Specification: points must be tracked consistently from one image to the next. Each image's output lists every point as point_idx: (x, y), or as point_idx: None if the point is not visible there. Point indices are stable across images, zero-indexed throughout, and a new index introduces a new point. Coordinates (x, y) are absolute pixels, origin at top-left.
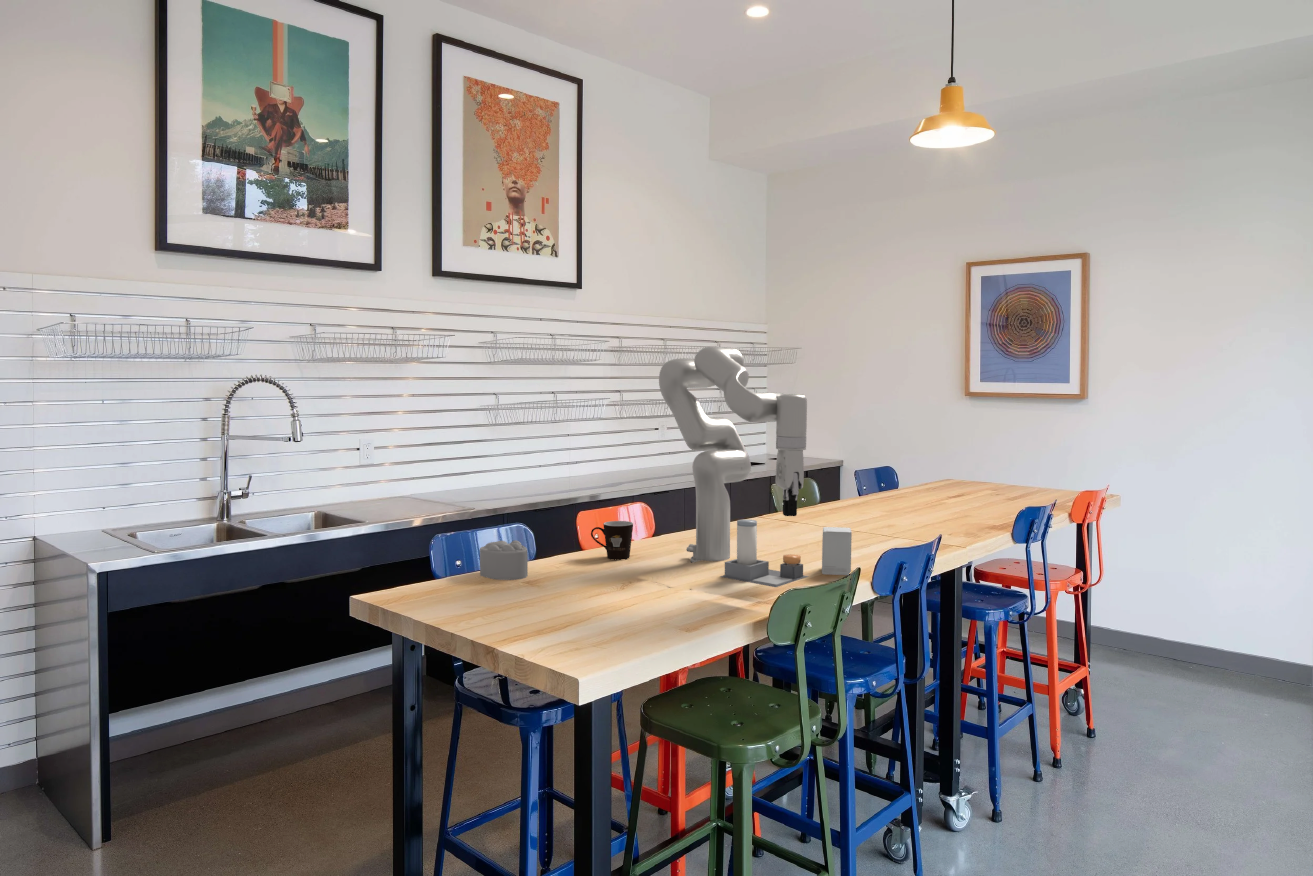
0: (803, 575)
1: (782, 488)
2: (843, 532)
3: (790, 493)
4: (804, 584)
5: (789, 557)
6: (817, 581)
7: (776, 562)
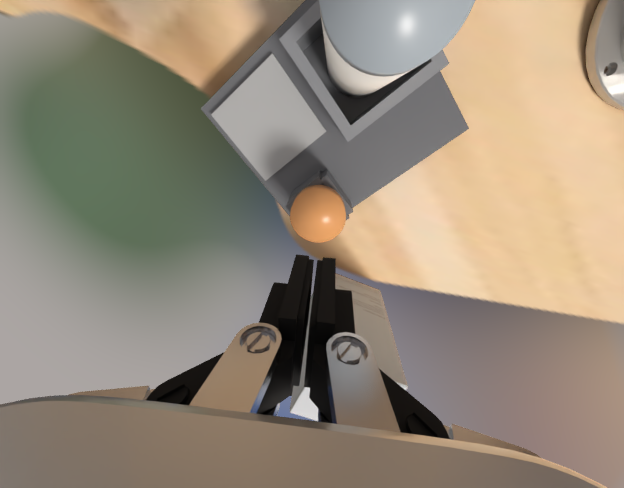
0: None
1: (187, 406)
2: (298, 397)
3: (154, 398)
4: None
5: (299, 202)
6: (313, 253)
7: (544, 236)
